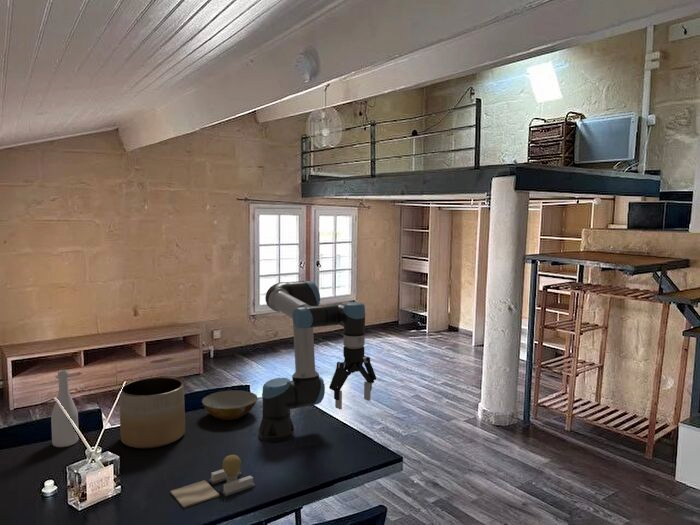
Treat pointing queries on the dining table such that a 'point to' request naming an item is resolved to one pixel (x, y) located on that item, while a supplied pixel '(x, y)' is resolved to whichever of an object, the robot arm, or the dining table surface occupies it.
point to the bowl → (229, 404)
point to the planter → (152, 412)
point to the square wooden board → (194, 493)
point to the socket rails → (234, 485)
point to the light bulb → (231, 467)
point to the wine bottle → (60, 424)
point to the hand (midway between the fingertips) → (353, 404)
